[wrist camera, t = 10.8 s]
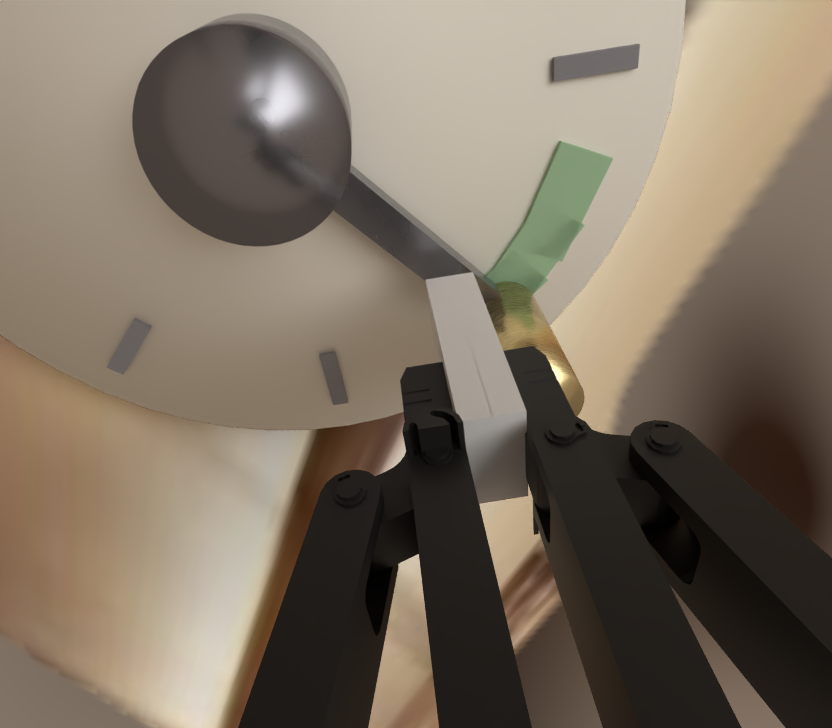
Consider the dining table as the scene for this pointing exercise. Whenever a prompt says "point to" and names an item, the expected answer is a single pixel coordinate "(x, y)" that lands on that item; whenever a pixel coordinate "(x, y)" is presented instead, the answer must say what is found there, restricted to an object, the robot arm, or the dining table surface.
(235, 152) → the crank handle
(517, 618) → the dining table surface
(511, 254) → the dial board
